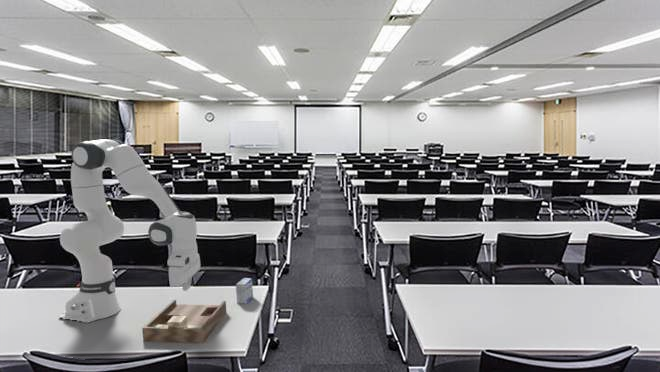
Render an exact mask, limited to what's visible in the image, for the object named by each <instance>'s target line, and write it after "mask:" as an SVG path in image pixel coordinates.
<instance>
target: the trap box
mask: <svg viewBox="0 0 660 372" xmlns="http://www.w3.org/2000/svg"><path fill="white" fill-rule="evenodd" d="M226 302H227V301H226V300H222V301H221V303H220V304H219V305H218V304H217V305H216V304H213V305H212V304H177V299H173V300H171V301H170V302H169V303H168V304H167V305H166V306H165V307H164V308H163V309H161V311H159V312H158V313H157V314H156V315H155V316H154V317H153V318H152V319H150V320H149V321H148V322H147V323H146V324H144V326H142V328H141V330H142V340H143V342H153V343H155V342H156V343H157V342H160V343H183V344H184V343H186V344H187V343H191V344H204V343H205V342H206V340H207V339H208V337H209V336H210V334H211V333H212V332H213V331H214V329H215V328H216V326H218V325H219V323H220V321H221V320H222V319H223V318H224V316H225V315H226V314H227V303H226ZM173 316H187V328H172V327H168V324H167V322H168V321H169V320H170V319H171V318H172V317H173Z"/></svg>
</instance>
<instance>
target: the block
mask: <svg viewBox="0 0 660 372" xmlns="http://www.w3.org/2000/svg"><path fill="white" fill-rule="evenodd" d="M167 324H168V327H172V328H187V316H173V317H172V318H171V319H170V320H169V321H168V322H167Z"/></svg>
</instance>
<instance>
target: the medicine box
mask: <svg viewBox="0 0 660 372" xmlns="http://www.w3.org/2000/svg"><path fill="white" fill-rule="evenodd" d="M253 288H254V287H253V278H249V277H243V278H242V279H240V280H239V281H238V282H237V283H236V284H235V292H236V294H235V295H236V303H237V304H244V305H247V303H248V302H249V301H250V300H251V299H252V298H253V297H254V292H253V291H254V289H253Z"/></svg>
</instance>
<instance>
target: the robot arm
mask: <svg viewBox="0 0 660 372" xmlns="http://www.w3.org/2000/svg"><path fill="white" fill-rule="evenodd" d="M70 153H71V160H72V161H73V162H72V163H71V168H70V185H71V186H70V187H71V191H72V201H73V206H74V207H75V208H76V209H77V210H79V211H81V212H84V213H85V214H86V216H87V217H86V218H87V220H86V221H82V222H78V223H74V224H72V225H70V226H68V227H66V228H64V229H62V231H61V233H60V236H59V242H60V246H61V247H62V248H63V249H64V250H65V251H66V252H68V253H71V254H73V255H74V256H75V258H76V259H77V260H78V263H79V266H80V270H81V271H80V272H81V277H82V281H79V283H78V284H76V288H79V290H78V291H77V292H76V293H74V294H73V295H72V296H71V297H69V299H68V300H67V301H66V304H65V309H64V310H63V311H62V312H61V313H60V314H59V316H58V317H59V319H60V318H64V319H63V320H65V319H70V320H69V321H72V320H77V321H76V322H79V321H82V322H81V323H91V322H94V321H96V320H101V319H105V318H109V317H111V316H113V315H116V314H118V313H119V312H120V311H121V309H122V308H121V306H120V303H119V302H118V301H119V300H118V298H117V293H116V280H115V276H114V272H113V262H112V261H113V260H112V259H111V258H110V257H109V256H107V255H105V254H103V253H101V250H100V246H103V245H106V244H110V243H113V242H114V241H116V240H118V239H120V238H121V237H122V236H123V235H124V233H125V226H124V223H123V221H122V220H121V218H119V217H117V216H116V215H114V214H113V213H112V211H111V210H110V208H109V207H108V204H107V200H106V195H105V188H104V187H105V186H104V183H103V182H104V181H103V172H104V170H105V169H106V168H107V169H109V170H110V169H111V170H112V172H113V173H114V175H115V177H116V178H117V181H118V183H119V185H120V186H121V188H122V189H123V190H124V191H125V192H127V193H128V194H131V195H133V196H138V197H144V198H147V199H150V200H151V201H153V202H154V203H155V204H156V206H157V207H158V209H159V211H161V213H162V215H163V216H164V218H162V219H159V220H156V221H155V222H152V223H151V224H150V225H149V228H148V232H147V233H148V238H149V240H150V242H152V244H154V245H156V246H160V247H161V246H169V245H171V246H172V251H171V255H170V256H169V258H168V259H167V266H168V281H169V285H170V286H171V287H172V288H180V287H182V291H189V289H191V282H192V276H194V275H195V274H196V273H197V272H198V271H200V269H201V258H200V253H198V244H197V240H196V239H197V234H198V233H197V230H198V229H197V222H196V218H195V216H194V214H192V213H191V212H188V211H182V210H181V209H180V208H179V206H177V204H176V203H175V201H174V199H173V198H172V197H171V196H170V194H169V193H168V191H167V190H166V188H165V187H164V186H163V185H162V183H160V181H158V180H157V179H155V178H154V175H152V174H151V172H150V171H149V169H148V168H147V166H146V164H145V162H144V161H143V159H142V158H141V156H140V155H139V154H138V152H137V151H136V150H135V149H134V148H133V147H132V146H131V145H130V144H125V143H124V142H123V141H121V140H119V139H112V138H111V139H106V138H105V139H100V138H99V139H96V140H95V139H94V140H89V141H88V140H84V141H81V142H78V143H77V144H75V145H74V146H73V147H72V149H71V152H70Z"/></svg>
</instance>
